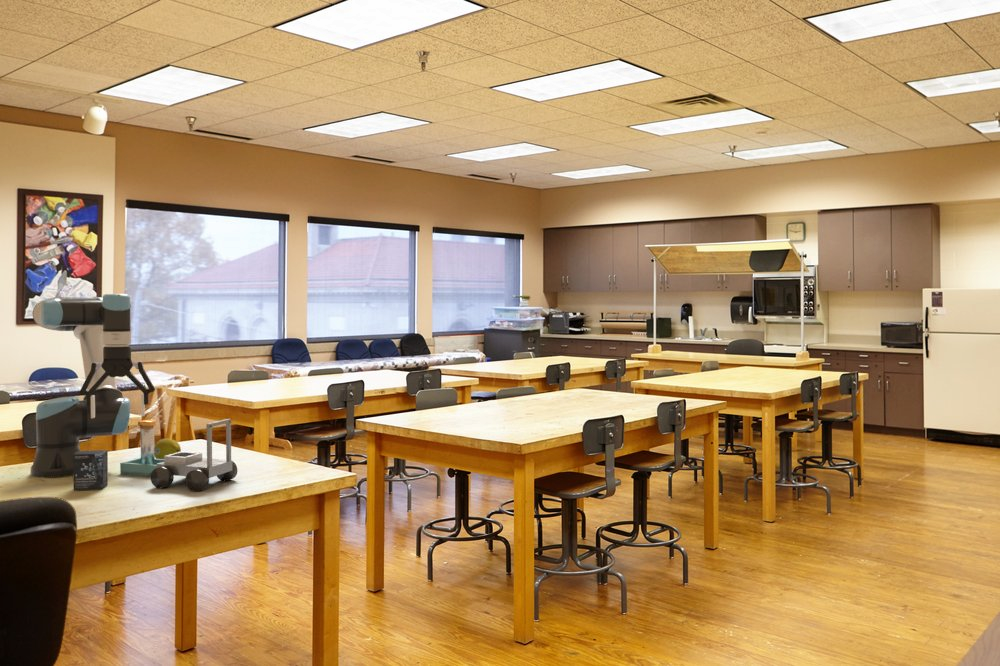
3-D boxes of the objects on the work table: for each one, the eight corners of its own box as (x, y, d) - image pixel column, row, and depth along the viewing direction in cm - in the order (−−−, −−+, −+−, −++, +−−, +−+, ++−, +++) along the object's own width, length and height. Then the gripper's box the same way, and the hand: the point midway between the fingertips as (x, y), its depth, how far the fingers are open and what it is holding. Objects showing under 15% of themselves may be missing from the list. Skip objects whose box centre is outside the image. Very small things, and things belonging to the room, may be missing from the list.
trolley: (150, 487, 233) (149, 422, 232) (187, 476, 248) (186, 414, 248) (203, 492, 228) (202, 425, 227) (237, 480, 243) (237, 417, 242)
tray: (120, 474, 251) (120, 463, 251) (141, 468, 259) (140, 457, 259) (155, 477, 247) (155, 465, 247) (175, 471, 256) (174, 460, 255)
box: (73, 491, 229) (72, 454, 228) (79, 486, 234) (78, 450, 234) (103, 489, 231) (102, 453, 230) (108, 485, 236) (107, 449, 236)
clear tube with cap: (135, 470, 251) (134, 422, 251) (146, 467, 256) (146, 419, 256) (148, 471, 250) (148, 422, 249) (160, 468, 255) (159, 420, 254)
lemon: (148, 461, 270) (148, 438, 269) (171, 458, 275) (170, 435, 275) (163, 466, 262) (162, 442, 262) (186, 463, 268) (186, 439, 268)
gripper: (67, 347, 233) (69, 420, 233) (161, 345, 241) (162, 416, 241) (72, 345, 240) (73, 416, 241) (163, 344, 248) (164, 413, 249)
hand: (118, 416), depth 241 cm, fingers open, 13 cm apart
